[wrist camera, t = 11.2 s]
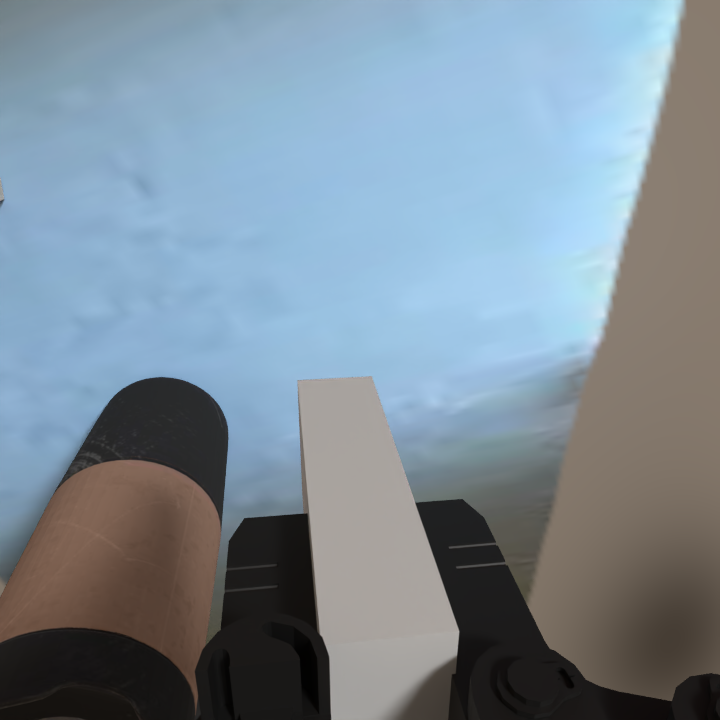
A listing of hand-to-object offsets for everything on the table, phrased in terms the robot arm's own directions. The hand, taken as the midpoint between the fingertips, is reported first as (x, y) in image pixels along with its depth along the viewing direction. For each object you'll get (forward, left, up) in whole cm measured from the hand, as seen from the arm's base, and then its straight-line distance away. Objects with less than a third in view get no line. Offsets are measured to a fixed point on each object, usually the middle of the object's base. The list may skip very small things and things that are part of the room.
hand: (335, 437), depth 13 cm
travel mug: (-12, +8, -21) cm, 26 cm away
